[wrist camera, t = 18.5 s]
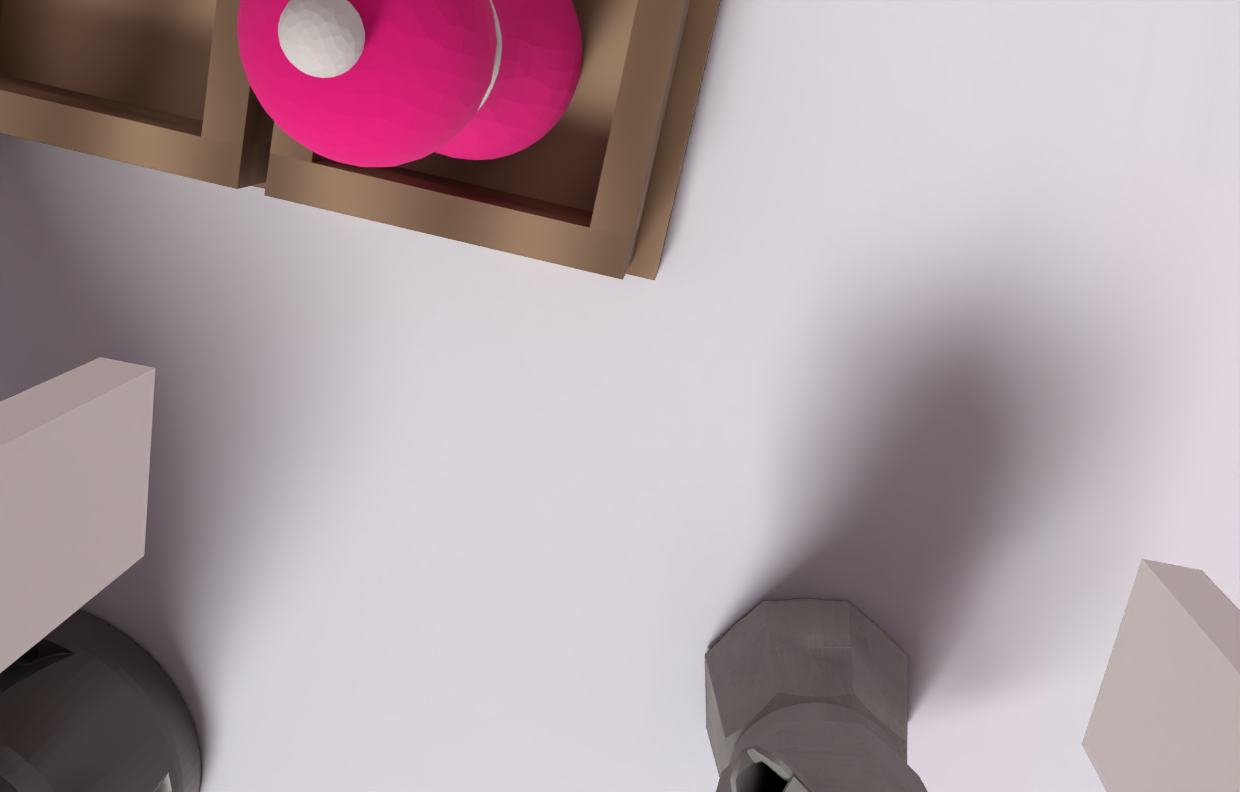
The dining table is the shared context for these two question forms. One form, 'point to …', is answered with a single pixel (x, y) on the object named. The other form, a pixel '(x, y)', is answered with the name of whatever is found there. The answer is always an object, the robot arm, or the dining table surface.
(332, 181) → the wooden divided tray
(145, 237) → the dining table surface
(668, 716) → the dining table surface
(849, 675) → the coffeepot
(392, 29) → the pepper mill
